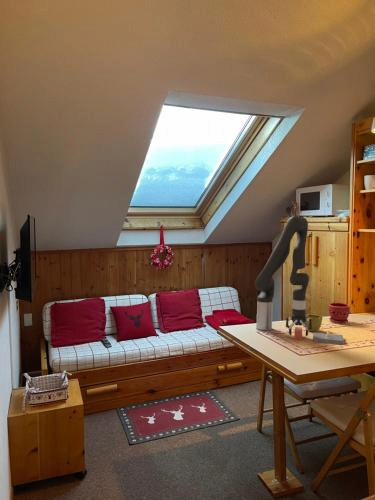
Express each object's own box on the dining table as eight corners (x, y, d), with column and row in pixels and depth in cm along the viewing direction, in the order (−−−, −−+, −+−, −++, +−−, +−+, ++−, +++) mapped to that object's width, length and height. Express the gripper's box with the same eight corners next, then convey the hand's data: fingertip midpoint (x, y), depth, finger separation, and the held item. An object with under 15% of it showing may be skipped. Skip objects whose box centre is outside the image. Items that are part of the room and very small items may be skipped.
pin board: (312, 341, 221) (313, 332, 221) (313, 335, 233) (313, 327, 232) (343, 344, 216) (344, 335, 216) (342, 338, 228) (342, 329, 228)
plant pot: (324, 320, 270) (324, 303, 269) (340, 319, 274) (340, 302, 273) (336, 325, 258) (337, 306, 257) (353, 323, 262) (354, 305, 261)
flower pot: (308, 327, 251) (308, 313, 251) (322, 329, 246) (322, 315, 246) (303, 330, 244) (304, 316, 243) (318, 333, 239) (318, 318, 238)
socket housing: (294, 339, 226) (294, 330, 226) (295, 335, 234) (295, 327, 234) (301, 339, 225) (301, 331, 225) (302, 336, 233) (302, 327, 232)
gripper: (285, 308, 227) (285, 336, 228) (311, 309, 223) (311, 338, 224) (286, 305, 234) (286, 332, 235) (312, 307, 230) (311, 334, 231)
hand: (298, 335), depth 229 cm, fingers open, 8 cm apart
